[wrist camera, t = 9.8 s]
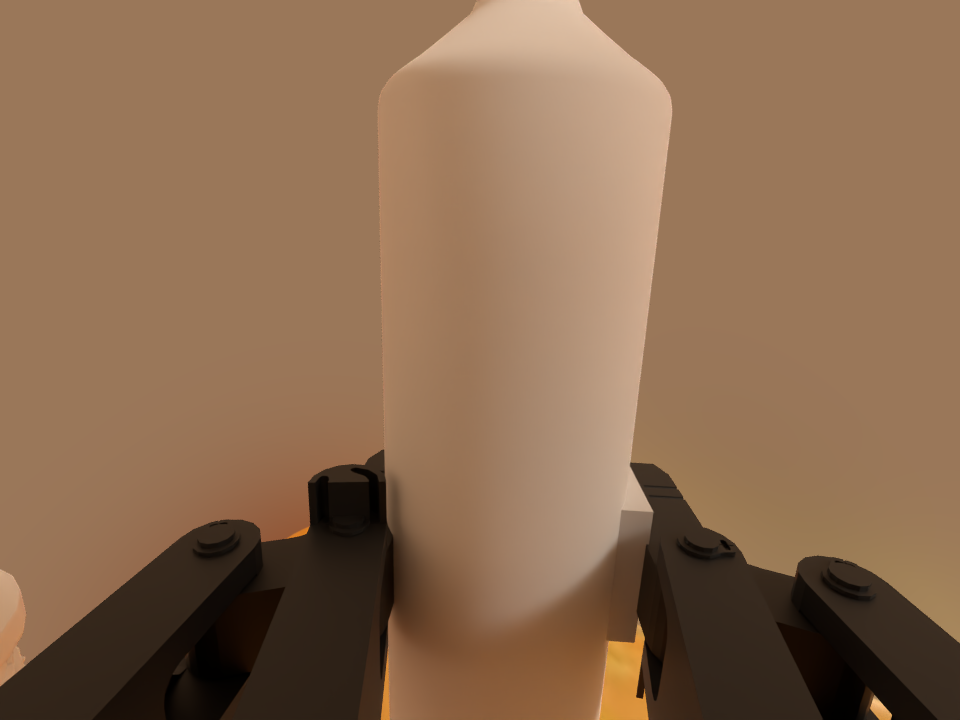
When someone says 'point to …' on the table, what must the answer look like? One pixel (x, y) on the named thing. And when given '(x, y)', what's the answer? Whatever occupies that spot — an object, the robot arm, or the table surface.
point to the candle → (512, 353)
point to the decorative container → (10, 626)
